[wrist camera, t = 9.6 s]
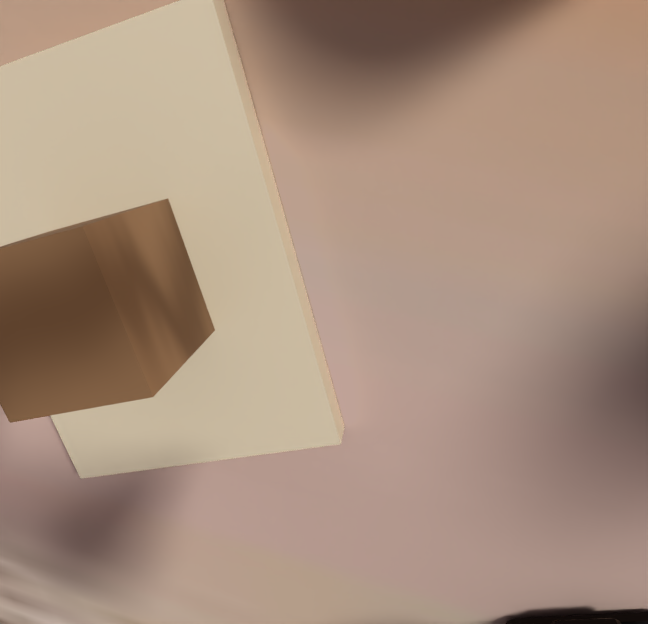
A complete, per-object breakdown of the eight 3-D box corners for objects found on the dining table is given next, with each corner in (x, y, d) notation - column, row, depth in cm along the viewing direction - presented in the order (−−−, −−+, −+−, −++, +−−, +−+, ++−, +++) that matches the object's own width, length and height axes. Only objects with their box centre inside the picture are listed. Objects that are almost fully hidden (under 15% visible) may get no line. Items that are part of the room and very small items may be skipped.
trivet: (344, 427, 21) (340, 444, 20) (95, 462, 24) (80, 478, 23) (222, -3, 16) (209, -11, 15) (-71, 104, 19) (-100, 103, 18)
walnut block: (215, 330, 19) (153, 397, 15) (100, 353, 20) (9, 422, 16) (168, 198, 18) (82, 226, 13) (47, 231, 19) (-70, 268, 14)
